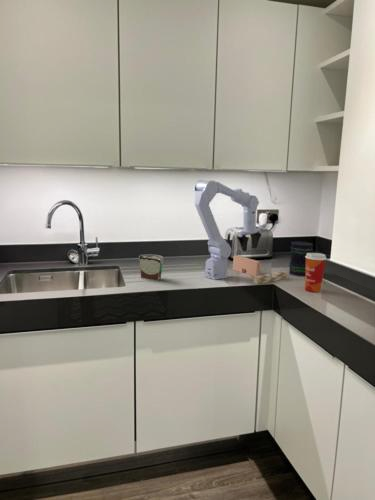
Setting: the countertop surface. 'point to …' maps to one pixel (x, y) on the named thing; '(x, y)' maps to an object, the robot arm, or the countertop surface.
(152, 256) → the food container
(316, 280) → the coffee cup
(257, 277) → the birch slotted plate
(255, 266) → the terracotta slotted plate
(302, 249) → the storage jar
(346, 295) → the countertop surface
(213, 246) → the robot arm
